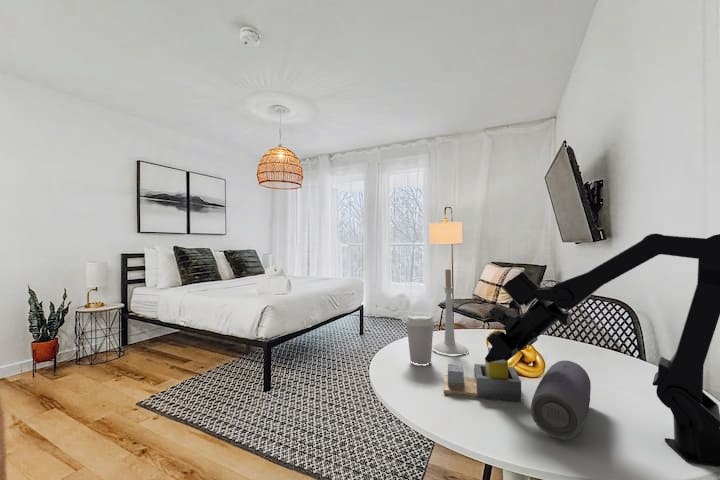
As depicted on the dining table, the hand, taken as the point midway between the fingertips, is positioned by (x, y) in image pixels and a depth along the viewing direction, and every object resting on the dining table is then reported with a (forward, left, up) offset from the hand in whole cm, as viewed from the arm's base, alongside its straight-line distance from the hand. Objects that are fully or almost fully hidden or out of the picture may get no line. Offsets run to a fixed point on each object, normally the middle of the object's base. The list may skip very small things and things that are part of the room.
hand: (491, 357), depth 83 cm
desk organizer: (-1, +3, -8) cm, 9 cm away
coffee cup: (+16, +20, -9) cm, 27 cm away
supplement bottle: (-1, -1, -7) cm, 7 cm away
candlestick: (+31, +11, -9) cm, 34 cm away
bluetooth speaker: (-11, -13, -9) cm, 19 cm away
